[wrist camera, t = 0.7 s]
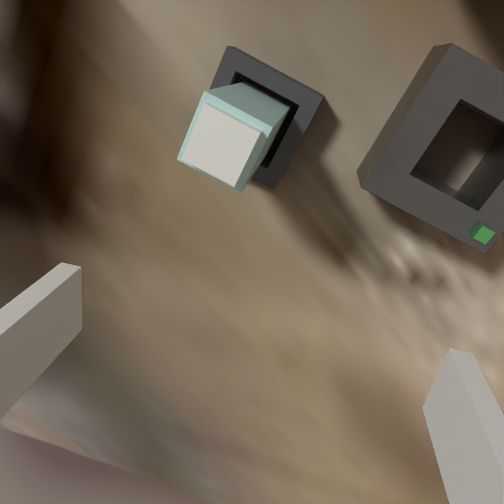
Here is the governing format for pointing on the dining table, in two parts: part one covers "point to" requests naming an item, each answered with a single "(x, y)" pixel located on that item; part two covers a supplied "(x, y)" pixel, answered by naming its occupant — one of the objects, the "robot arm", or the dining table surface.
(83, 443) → the dining table surface
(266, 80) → the holster
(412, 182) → the port panel
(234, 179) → the plug
